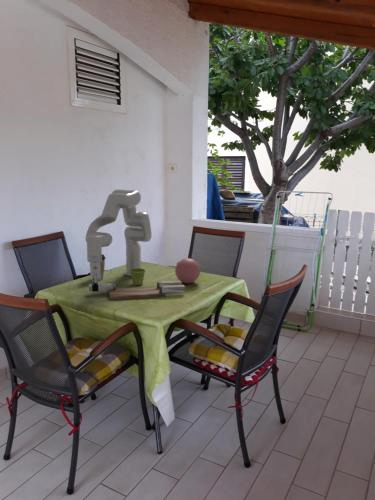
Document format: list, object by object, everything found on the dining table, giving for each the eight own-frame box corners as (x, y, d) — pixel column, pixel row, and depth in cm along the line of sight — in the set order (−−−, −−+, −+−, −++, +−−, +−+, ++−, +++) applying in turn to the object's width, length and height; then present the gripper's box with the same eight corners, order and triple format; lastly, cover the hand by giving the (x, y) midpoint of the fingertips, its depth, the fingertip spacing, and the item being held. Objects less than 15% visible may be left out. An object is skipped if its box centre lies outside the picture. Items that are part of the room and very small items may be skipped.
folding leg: (115, 288, 229) (115, 283, 229) (115, 289, 227) (115, 284, 226) (89, 289, 226) (88, 284, 225) (89, 291, 223) (88, 286, 223)
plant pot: (148, 284, 246) (148, 270, 244) (136, 287, 239) (136, 273, 237) (138, 280, 252) (138, 267, 250) (126, 283, 245) (126, 270, 243)
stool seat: (108, 291, 230) (108, 283, 229) (179, 288, 240) (180, 280, 239) (110, 300, 217) (110, 291, 216) (185, 295, 227) (185, 287, 226)
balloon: (189, 276, 265) (190, 253, 262) (204, 284, 247) (205, 260, 244) (168, 278, 258) (168, 255, 255) (181, 287, 241) (181, 262, 237)
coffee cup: (109, 278, 256) (108, 255, 252) (98, 281, 248) (97, 257, 245) (98, 275, 261) (97, 252, 257) (87, 278, 253) (86, 255, 250)
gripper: (102, 261, 209) (103, 295, 213) (100, 254, 223) (101, 286, 227) (87, 261, 207) (88, 296, 211) (86, 255, 221) (87, 287, 225)
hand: (95, 291), depth 219 cm, fingers closed
